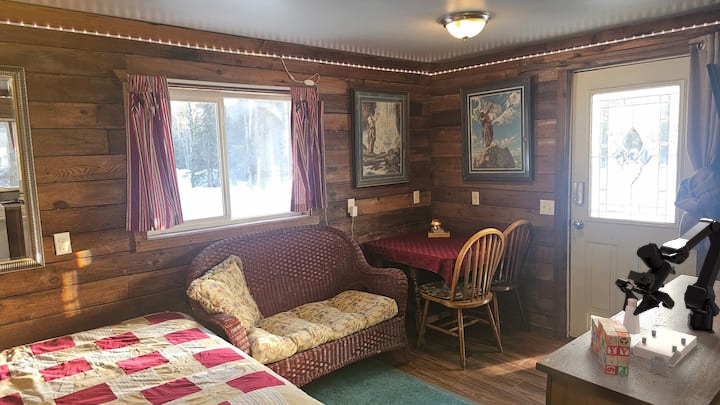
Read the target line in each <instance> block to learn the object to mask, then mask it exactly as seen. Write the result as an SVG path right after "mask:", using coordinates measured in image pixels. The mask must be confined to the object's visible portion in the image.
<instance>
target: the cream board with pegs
mask: <svg viewBox="0 0 720 405" xmlns="http://www.w3.org/2000/svg"><path fill="white" fill-rule="evenodd" d="M696 346H697V336H695V335H691V334H687V333H684V332H680V331H675V330H673V329H672V330H671V329H667V328H664V327H660V326H659V327H657V328H655V329H652V330H651V332H650V333H649V334H648V335H646V336H643V337H641V340H640V341H638V342H637V343H636V344H634V345H633V353H632V354H633V356H635V357H638V358H642V359H645V360H648V361H651V358H652V357H655V356H657V355H659V356H663V357H664V360H668V361H669V359H670V358H671V357H672V356H673V354H674V353H675V352H676V350H678V351H679V352H681V353H682V355H681V356H680V358H679V359H678V360H677V361H676V363H675V364H674V365H671V364H670V363H668V367H671V368H674V367H675V366H676V365H677V364H678V363H679V362H681V361H682V359H684V358H685V356H686V355H688V354H689V353H690V352H691V351H692V349H694V348H695V347H696Z"/></svg>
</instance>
